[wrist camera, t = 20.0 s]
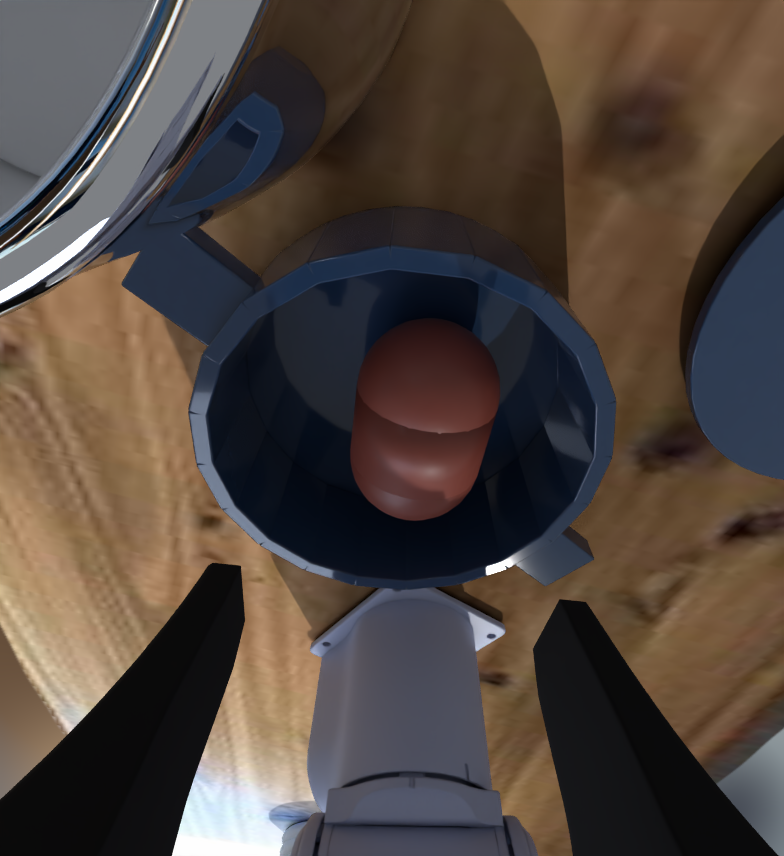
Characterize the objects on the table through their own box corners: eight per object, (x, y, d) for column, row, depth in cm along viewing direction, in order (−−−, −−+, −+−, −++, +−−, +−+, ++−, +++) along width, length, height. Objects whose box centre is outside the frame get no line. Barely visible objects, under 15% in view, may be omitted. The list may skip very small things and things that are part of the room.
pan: (444, 564, 26) (451, 653, 22) (113, 347, 19) (33, 419, 15) (674, 415, 20) (741, 499, 16) (317, 24, 13) (277, -1, 9)
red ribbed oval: (439, 458, 22) (485, 538, 18) (334, 468, 21) (361, 557, 17) (478, 296, 18) (547, 360, 14) (348, 294, 16) (388, 364, 13)
